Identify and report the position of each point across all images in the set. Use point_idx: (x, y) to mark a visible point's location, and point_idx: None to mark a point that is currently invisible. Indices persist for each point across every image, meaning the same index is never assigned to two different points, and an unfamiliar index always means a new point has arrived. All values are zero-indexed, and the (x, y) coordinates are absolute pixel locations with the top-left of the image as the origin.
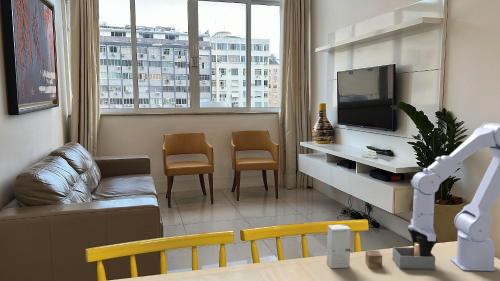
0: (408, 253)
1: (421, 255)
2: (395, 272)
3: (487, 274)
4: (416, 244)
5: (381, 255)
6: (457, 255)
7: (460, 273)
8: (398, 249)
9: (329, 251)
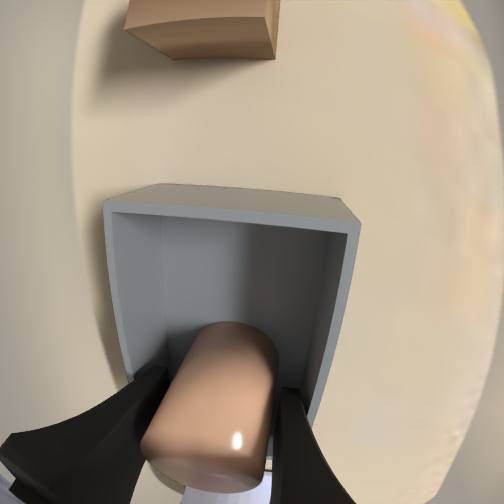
0: (316, 341)
1: (135, 380)
2: (114, 138)
3: (167, 480)
4: (185, 438)
5: (130, 22)
6: (233, 500)
7: None
8: (337, 275)
9: None
